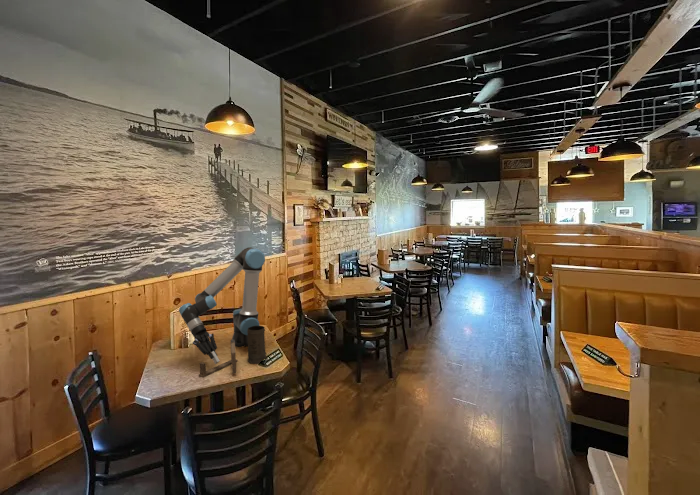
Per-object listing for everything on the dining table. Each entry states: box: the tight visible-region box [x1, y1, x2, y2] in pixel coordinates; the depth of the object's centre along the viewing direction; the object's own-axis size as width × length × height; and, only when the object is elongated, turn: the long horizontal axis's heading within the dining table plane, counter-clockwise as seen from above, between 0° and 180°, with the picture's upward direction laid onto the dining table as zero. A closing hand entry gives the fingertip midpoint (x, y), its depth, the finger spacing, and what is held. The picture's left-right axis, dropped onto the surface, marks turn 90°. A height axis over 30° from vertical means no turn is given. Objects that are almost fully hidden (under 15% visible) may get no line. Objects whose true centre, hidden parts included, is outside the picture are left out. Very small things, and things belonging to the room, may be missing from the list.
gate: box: [230, 341, 237, 374], centre depth 188 cm, size 17×2×11 cm, turn 20°
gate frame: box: [198, 339, 239, 378], centre depth 189 cm, size 23×4×13 cm, turn 149°
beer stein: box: [247, 325, 267, 365], centre depth 201 cm, size 15×11×20 cm
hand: (217, 362), depth 187 cm, fingers closed
